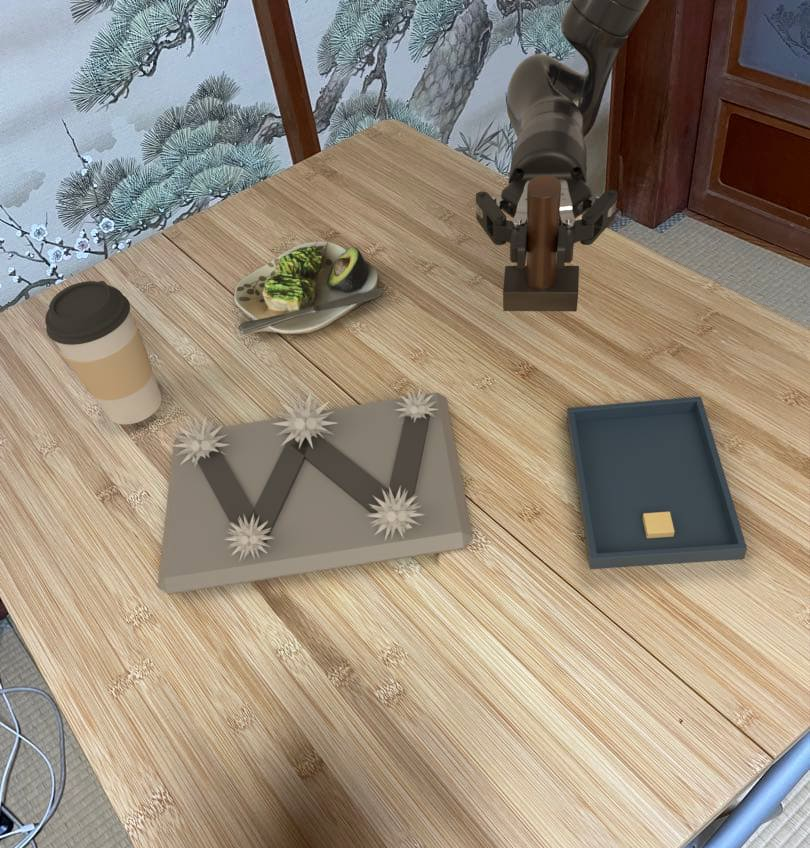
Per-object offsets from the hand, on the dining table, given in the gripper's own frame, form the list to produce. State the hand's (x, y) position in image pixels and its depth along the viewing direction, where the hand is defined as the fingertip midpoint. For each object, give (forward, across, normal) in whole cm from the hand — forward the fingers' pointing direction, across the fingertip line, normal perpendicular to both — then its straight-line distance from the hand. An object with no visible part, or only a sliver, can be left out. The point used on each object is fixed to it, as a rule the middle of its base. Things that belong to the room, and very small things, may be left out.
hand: (541, 258), depth 73 cm
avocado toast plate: (-23, -29, +19) cm, 42 cm away
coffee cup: (-3, -47, +21) cm, 51 cm away
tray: (+9, +11, +19) cm, 24 cm away
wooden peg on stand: (-5, 0, +7) cm, 9 cm away
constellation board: (+10, -22, +21) cm, 32 cm away
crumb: (+14, +12, +19) cm, 26 cm away
